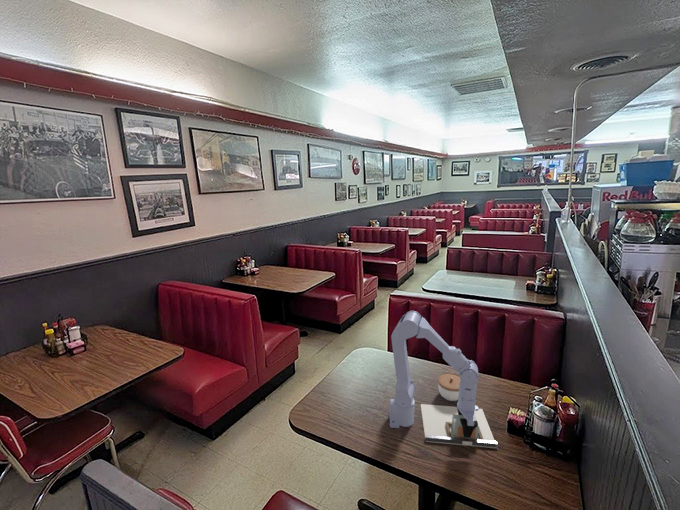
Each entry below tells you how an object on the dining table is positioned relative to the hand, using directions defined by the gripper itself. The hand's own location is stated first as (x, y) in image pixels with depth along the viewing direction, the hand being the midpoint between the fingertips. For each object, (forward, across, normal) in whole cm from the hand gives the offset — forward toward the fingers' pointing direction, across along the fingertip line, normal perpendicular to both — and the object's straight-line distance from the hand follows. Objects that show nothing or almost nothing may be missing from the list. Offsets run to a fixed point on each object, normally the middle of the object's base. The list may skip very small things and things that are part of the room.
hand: (464, 428), depth 120 cm
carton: (+2, 0, 0) cm, 3 cm away
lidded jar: (+4, +22, +1) cm, 22 cm away
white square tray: (+3, +5, +2) cm, 6 cm away
